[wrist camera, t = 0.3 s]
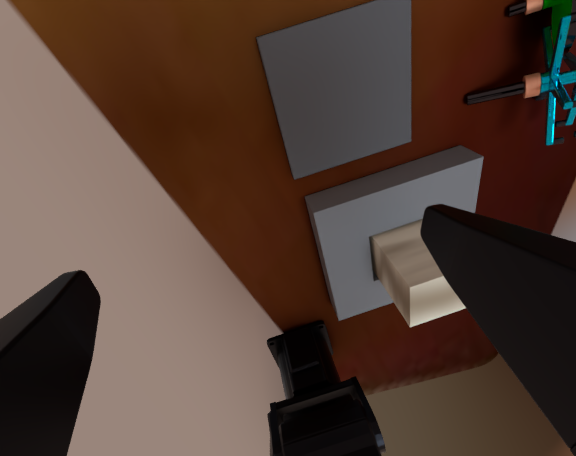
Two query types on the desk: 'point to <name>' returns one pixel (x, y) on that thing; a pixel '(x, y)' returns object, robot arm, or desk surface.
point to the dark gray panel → (341, 84)
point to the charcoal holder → (383, 219)
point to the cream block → (411, 275)
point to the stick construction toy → (549, 85)
